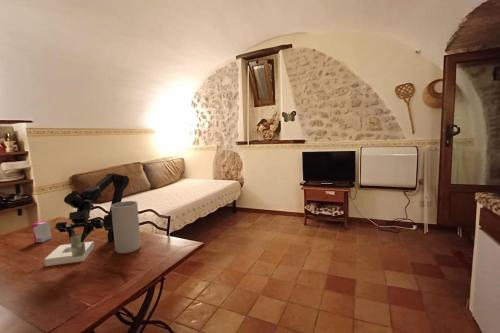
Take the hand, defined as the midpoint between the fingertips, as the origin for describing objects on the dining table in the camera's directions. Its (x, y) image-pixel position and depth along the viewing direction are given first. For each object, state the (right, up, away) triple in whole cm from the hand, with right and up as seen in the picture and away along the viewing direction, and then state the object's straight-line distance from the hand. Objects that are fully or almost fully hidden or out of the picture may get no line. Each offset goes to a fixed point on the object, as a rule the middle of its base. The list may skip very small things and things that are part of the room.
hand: (76, 242), depth 116 cm
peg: (0, -6, +2) cm, 7 cm away
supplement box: (-43, -10, +34) cm, 56 cm away
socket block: (-12, -11, +14) cm, 21 cm away
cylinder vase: (+14, -10, +21) cm, 27 cm away
